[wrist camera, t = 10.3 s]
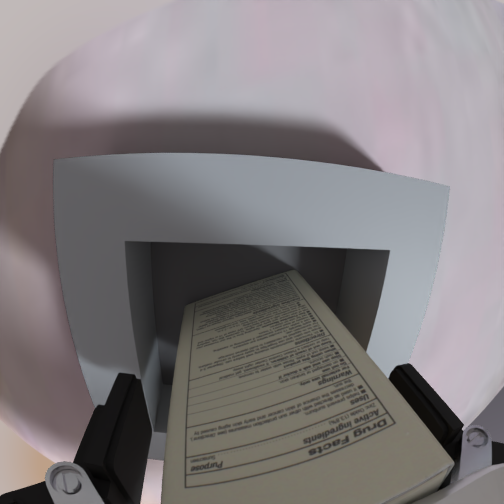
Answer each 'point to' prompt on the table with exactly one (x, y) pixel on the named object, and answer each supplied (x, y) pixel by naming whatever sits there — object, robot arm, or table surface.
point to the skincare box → (288, 408)
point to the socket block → (234, 253)
